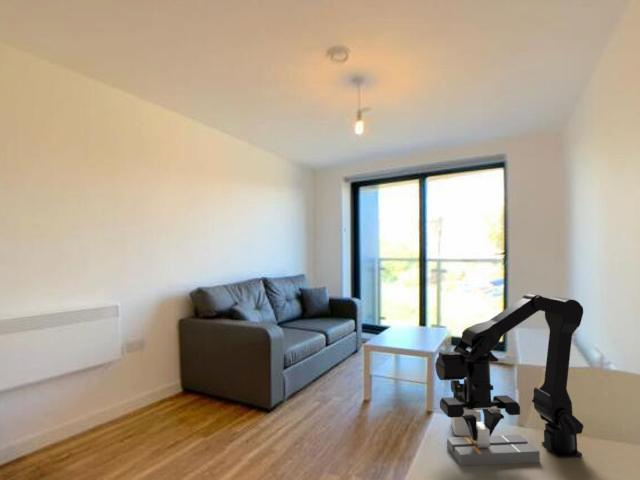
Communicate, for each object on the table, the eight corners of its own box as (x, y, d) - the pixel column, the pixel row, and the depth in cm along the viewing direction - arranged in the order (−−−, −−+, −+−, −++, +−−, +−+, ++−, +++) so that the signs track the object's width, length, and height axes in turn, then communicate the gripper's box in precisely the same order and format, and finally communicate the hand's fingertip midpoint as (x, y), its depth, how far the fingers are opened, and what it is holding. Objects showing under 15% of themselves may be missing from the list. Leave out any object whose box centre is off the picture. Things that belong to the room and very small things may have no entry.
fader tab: (482, 445, 93) (481, 421, 93) (490, 454, 89) (489, 429, 89) (471, 445, 92) (470, 422, 93) (478, 454, 88) (477, 429, 89)
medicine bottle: (481, 437, 99) (480, 394, 99) (454, 435, 100) (453, 392, 101) (475, 425, 106) (474, 385, 106) (450, 423, 107) (449, 383, 108)
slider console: (519, 444, 95) (519, 434, 95) (539, 461, 87) (539, 450, 87) (447, 447, 94) (446, 437, 94) (460, 465, 86) (460, 454, 86)
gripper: (496, 367, 100) (498, 423, 99) (431, 369, 99) (432, 425, 98) (520, 381, 89) (522, 444, 88) (447, 383, 88) (449, 447, 87)
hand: (480, 439), depth 91 cm, fingers closed on fader tab, 3 cm apart
